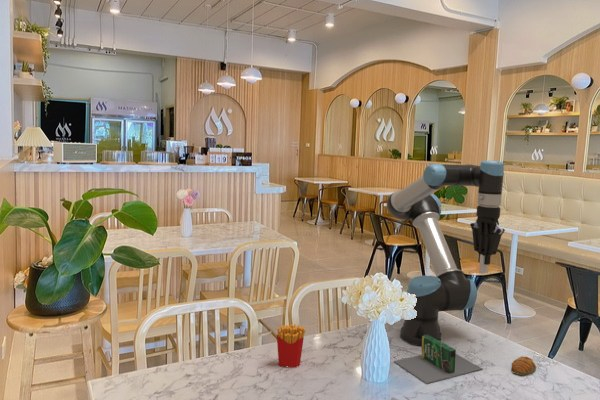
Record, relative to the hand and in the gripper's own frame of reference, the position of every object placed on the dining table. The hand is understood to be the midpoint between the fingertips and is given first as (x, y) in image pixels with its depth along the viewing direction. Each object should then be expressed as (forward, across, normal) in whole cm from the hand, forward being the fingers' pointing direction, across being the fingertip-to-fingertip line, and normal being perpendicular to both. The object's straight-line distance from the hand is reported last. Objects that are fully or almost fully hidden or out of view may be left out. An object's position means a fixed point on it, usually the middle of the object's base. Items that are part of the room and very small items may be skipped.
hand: (483, 272), depth 164 cm
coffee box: (+25, +8, -20) cm, 33 cm away
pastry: (+30, +16, +5) cm, 34 cm away
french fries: (+30, -18, -65) cm, 74 cm away
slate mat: (+29, +2, -20) cm, 36 cm away
